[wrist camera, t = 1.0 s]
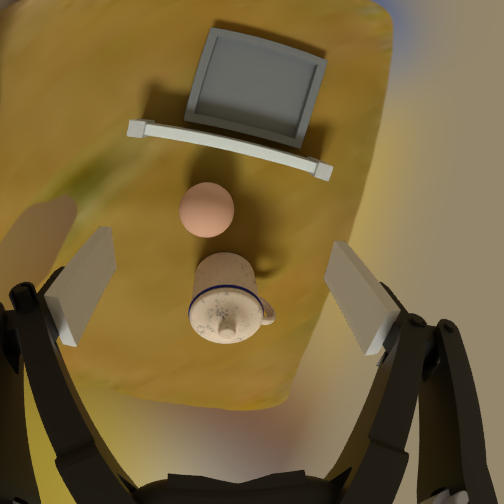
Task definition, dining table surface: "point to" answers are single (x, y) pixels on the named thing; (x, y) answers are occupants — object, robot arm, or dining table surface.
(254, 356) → the dining table surface
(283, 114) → the tray
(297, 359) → the dining table surface
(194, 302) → the teacup with lid
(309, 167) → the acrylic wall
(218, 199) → the ball
